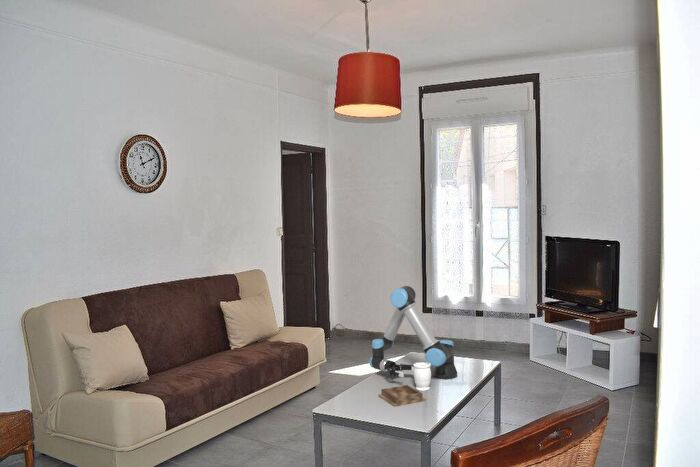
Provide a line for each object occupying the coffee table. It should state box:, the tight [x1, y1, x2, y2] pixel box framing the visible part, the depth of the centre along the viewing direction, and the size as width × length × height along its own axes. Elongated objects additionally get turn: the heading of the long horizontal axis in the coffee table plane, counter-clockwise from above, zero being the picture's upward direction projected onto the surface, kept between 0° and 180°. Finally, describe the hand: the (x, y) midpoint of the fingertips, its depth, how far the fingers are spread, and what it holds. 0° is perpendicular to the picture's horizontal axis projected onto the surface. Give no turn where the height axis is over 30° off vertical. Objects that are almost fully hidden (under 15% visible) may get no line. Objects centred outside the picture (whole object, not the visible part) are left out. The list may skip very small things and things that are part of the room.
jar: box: [412, 361, 432, 392], centre depth 327 cm, size 11×10×15 cm
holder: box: [377, 384, 427, 408], centre depth 311 cm, size 20×20×4 cm
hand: (411, 372), depth 334 cm, fingers open, 13 cm apart
